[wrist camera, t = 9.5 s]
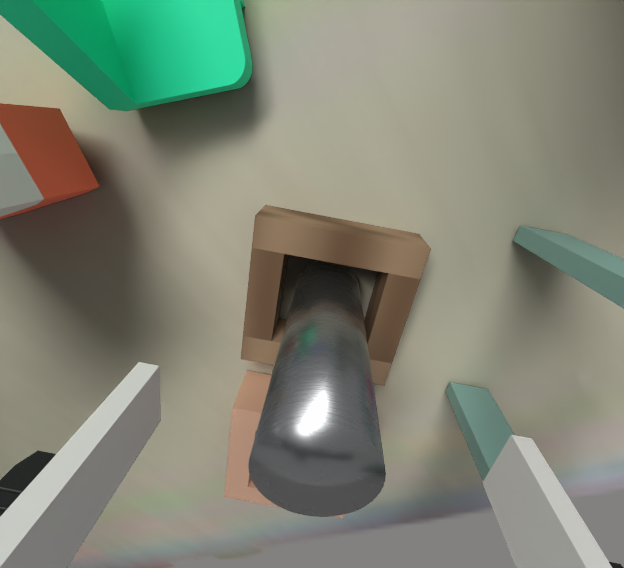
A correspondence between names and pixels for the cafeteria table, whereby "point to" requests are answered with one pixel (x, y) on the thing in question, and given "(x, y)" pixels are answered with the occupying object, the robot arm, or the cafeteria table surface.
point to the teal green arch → (478, 401)
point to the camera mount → (140, 46)
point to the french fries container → (39, 160)
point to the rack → (246, 438)
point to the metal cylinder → (320, 404)
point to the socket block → (341, 250)
